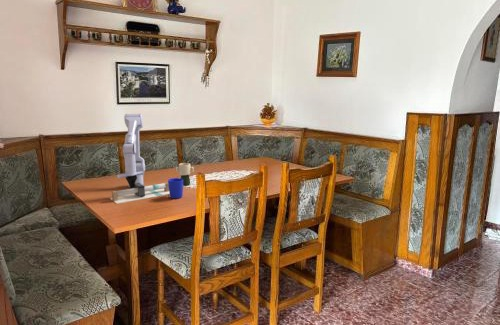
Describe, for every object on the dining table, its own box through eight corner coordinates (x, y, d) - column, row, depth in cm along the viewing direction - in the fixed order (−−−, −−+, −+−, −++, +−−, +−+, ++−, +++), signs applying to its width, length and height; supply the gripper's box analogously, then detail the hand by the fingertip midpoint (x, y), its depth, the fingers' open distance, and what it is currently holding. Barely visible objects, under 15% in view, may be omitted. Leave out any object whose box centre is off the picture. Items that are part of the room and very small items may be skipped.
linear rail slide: (109, 198, 218) (108, 189, 217) (164, 189, 237) (163, 180, 236) (116, 203, 209) (116, 194, 208) (173, 193, 227) (172, 184, 226)
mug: (183, 193, 229) (182, 176, 227) (184, 199, 217) (183, 181, 215) (168, 193, 227) (167, 176, 225) (168, 200, 215) (168, 182, 213)
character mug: (195, 183, 250) (194, 162, 248) (193, 186, 243) (192, 165, 241) (177, 183, 251) (177, 162, 248) (175, 186, 244) (174, 165, 241)
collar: (134, 193, 224) (133, 183, 223) (139, 193, 226) (138, 182, 225) (139, 197, 218) (139, 186, 217) (144, 196, 220) (144, 185, 218)
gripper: (119, 168, 212) (121, 192, 215) (145, 164, 220) (147, 188, 223) (115, 165, 218) (117, 190, 220) (141, 162, 226) (142, 185, 229)
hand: (131, 189), depth 222 cm, fingers closed
